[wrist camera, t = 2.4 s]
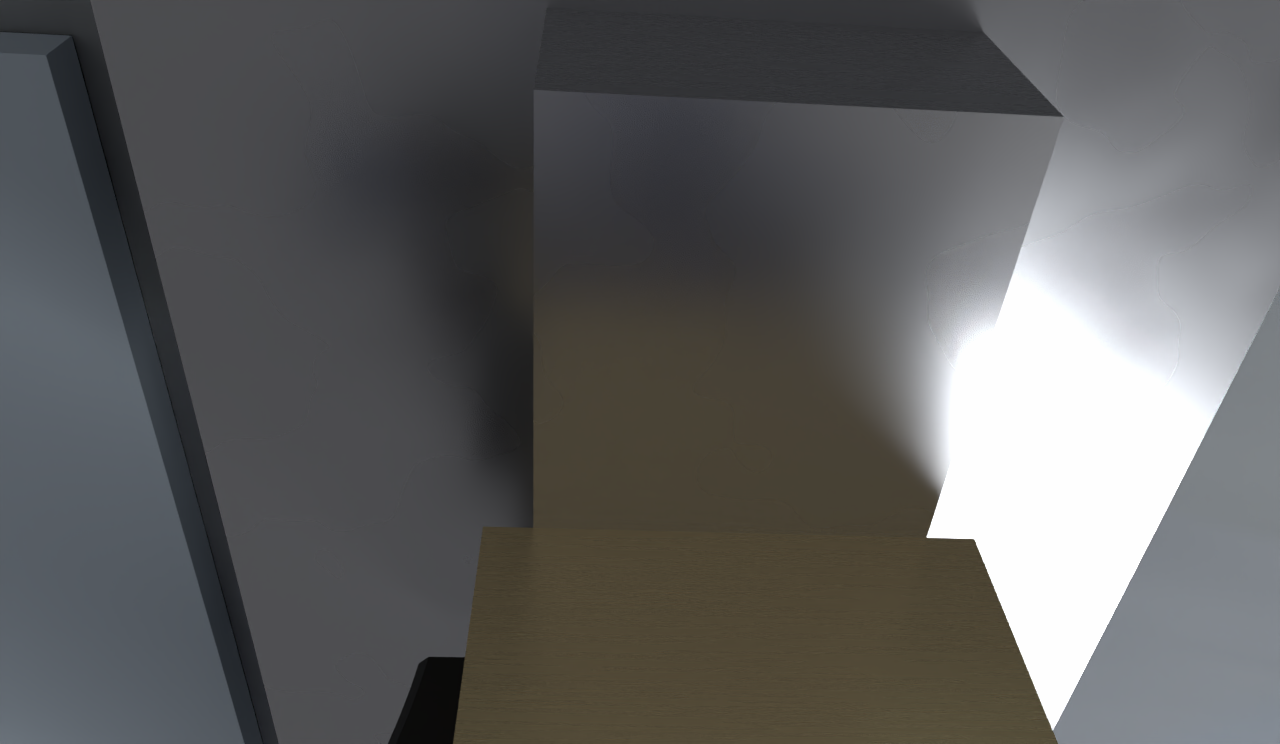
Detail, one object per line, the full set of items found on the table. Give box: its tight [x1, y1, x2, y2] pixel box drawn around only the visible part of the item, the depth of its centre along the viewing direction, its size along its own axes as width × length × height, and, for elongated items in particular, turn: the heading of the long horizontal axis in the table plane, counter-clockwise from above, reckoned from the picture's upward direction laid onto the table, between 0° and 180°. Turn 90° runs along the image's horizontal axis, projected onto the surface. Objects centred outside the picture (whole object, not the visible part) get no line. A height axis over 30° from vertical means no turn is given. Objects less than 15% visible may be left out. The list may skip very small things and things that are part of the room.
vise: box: [90, 0, 1280, 744], centre depth 11 cm, size 16×12×8 cm
